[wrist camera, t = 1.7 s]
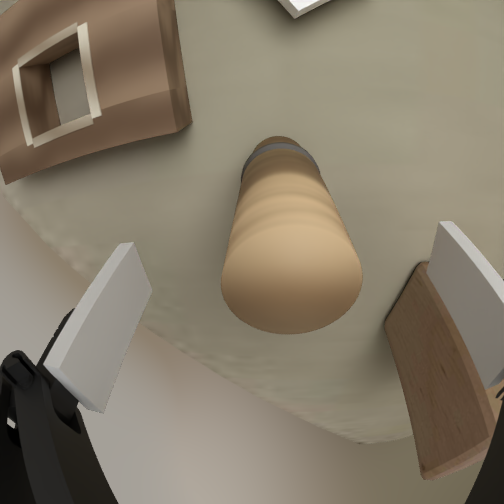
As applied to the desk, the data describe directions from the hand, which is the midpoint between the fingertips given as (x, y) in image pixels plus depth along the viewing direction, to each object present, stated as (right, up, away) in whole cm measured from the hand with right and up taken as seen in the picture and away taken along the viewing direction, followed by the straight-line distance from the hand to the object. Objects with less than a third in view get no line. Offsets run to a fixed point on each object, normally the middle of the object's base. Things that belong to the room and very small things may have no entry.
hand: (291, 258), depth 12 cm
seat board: (-16, +16, +4) cm, 23 cm away
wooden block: (+19, -5, +17) cm, 26 cm away
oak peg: (0, +7, +9) cm, 12 cm away
